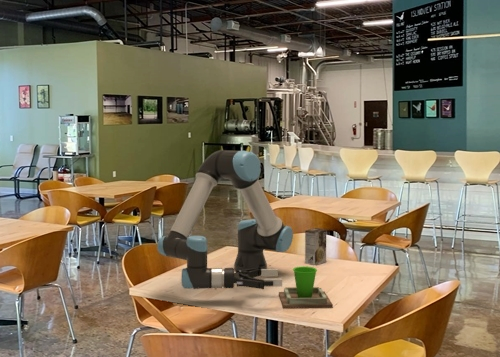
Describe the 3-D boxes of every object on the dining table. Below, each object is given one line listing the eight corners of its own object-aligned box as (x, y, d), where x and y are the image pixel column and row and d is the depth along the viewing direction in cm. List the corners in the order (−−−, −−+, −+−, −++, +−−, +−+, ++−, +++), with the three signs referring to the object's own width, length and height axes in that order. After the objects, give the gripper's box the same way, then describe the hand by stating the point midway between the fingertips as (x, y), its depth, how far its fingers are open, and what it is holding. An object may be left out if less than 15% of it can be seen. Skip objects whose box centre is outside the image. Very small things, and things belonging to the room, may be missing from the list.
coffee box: (315, 260, 273) (316, 227, 271) (326, 262, 268) (327, 229, 267) (304, 263, 266) (304, 230, 265) (314, 265, 262) (315, 232, 260)
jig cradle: (278, 294, 216) (278, 286, 216) (324, 294, 217) (324, 286, 217) (283, 308, 200) (283, 299, 200) (332, 307, 201) (332, 299, 201)
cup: (300, 303, 203) (301, 273, 202) (288, 296, 211) (288, 268, 210) (321, 299, 207) (321, 270, 206) (308, 293, 215) (308, 265, 214)
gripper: (223, 278, 219) (276, 278, 220) (223, 298, 194) (283, 297, 196) (223, 260, 218) (276, 259, 220) (223, 277, 194) (284, 276, 195)
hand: (280, 277), depth 208 cm, fingers open, 13 cm apart
